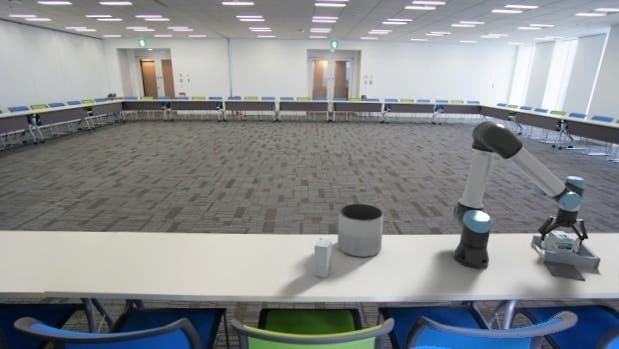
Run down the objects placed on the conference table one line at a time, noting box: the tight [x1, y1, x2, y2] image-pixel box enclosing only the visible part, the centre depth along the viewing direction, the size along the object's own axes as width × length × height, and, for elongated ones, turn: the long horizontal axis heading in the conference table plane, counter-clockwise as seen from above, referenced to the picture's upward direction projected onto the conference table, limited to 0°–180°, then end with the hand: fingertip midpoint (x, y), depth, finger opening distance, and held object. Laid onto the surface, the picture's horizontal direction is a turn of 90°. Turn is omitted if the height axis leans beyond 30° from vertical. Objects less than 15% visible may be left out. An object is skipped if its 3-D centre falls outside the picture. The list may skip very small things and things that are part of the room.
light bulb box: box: [544, 229, 576, 254], centre depth 161 cm, size 11×7×11 cm, turn 168°
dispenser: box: [531, 234, 601, 270], centre depth 162 cm, size 22×18×5 cm
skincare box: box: [314, 237, 332, 279], centre depth 144 cm, size 8×6×15 cm
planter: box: [337, 203, 384, 258], centre depth 165 cm, size 22×22×20 cm
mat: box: [542, 260, 586, 281], centre depth 149 cm, size 12×12×1 cm
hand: (558, 248), depth 162 cm, fingers open, 13 cm apart
